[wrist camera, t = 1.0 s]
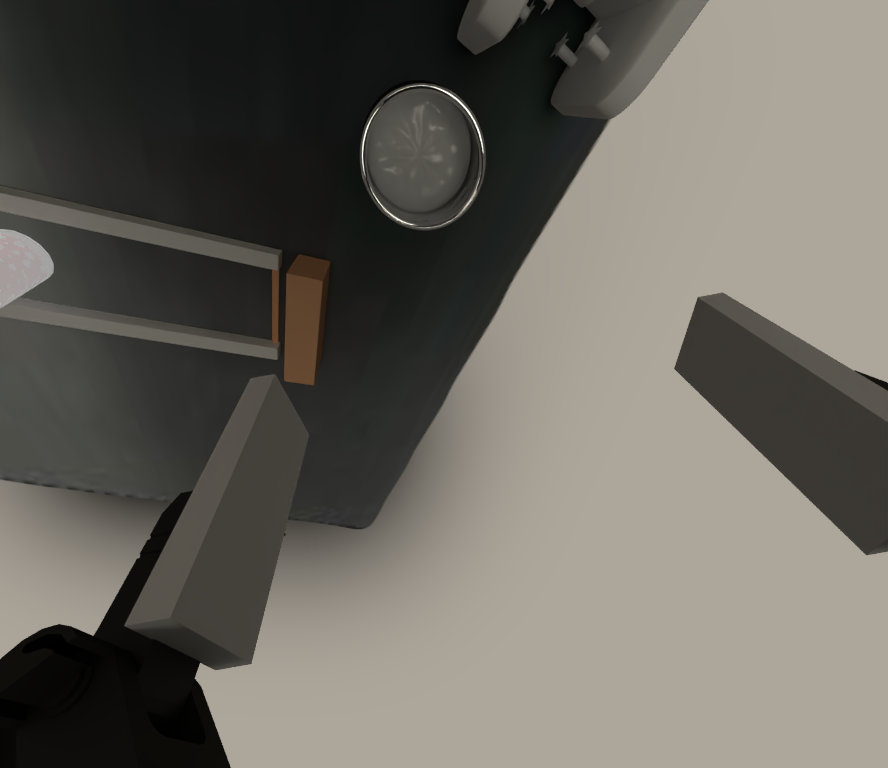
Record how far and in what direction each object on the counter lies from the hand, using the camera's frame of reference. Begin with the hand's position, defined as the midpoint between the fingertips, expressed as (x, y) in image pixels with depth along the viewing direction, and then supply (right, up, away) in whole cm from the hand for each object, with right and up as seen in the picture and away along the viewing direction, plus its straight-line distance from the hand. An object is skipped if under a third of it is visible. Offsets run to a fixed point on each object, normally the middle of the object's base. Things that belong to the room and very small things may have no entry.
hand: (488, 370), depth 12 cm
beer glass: (-4, +20, +19) cm, 28 cm away
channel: (-29, +9, +24) cm, 39 cm away
